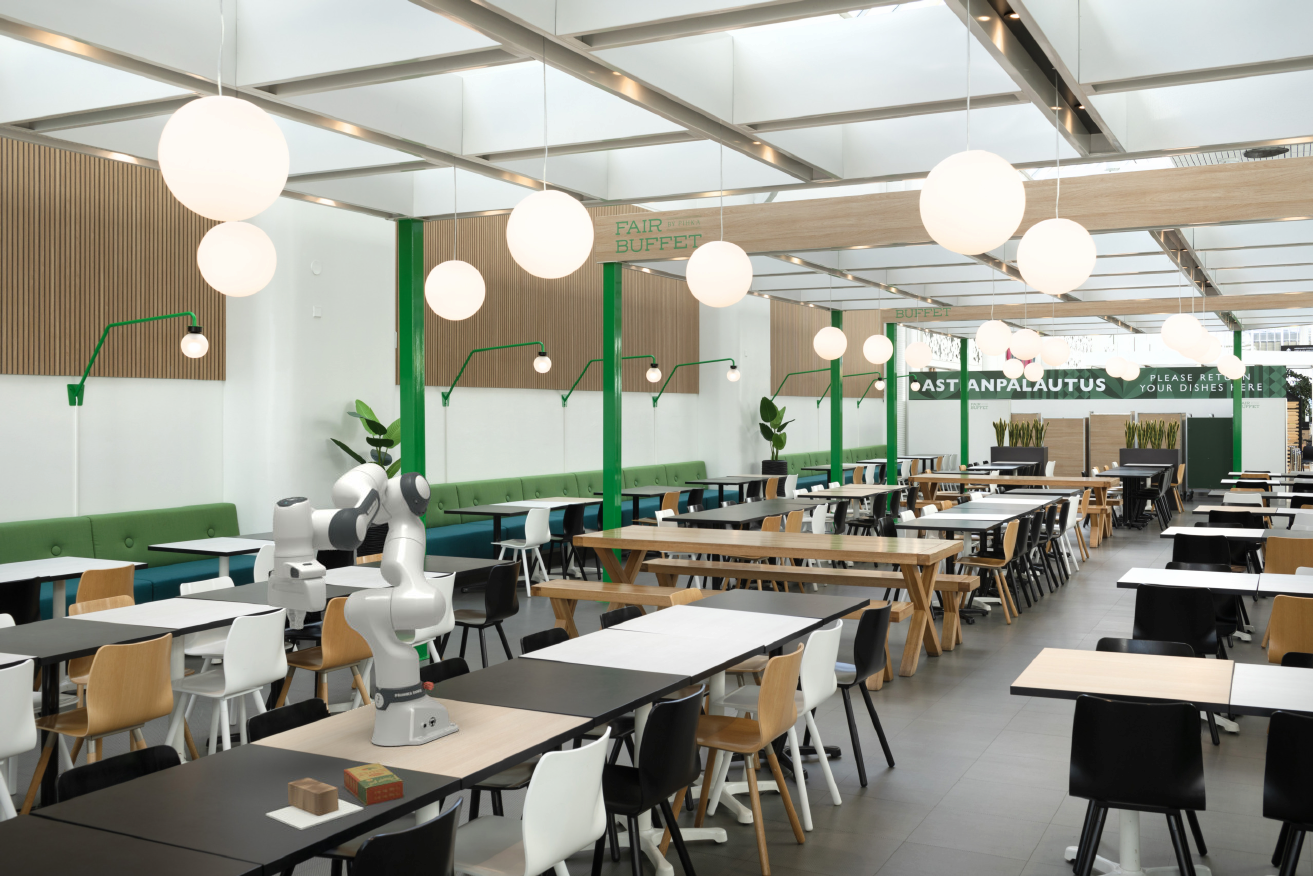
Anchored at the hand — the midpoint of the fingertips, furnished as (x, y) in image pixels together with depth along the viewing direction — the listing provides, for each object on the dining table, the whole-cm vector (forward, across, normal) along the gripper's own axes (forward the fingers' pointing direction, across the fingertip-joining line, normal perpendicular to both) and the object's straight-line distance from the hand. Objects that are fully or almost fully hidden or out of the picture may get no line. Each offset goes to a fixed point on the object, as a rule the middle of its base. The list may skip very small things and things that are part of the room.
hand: (296, 628), depth 238 cm
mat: (+34, +24, -11) cm, 43 cm away
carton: (+35, +23, +4) cm, 42 cm away
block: (+32, +16, -10) cm, 37 cm away
